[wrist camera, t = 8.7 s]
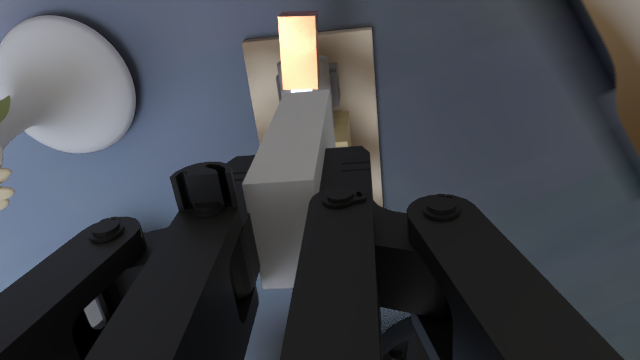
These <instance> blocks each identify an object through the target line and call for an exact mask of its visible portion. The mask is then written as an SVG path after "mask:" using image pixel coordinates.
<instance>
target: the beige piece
mask: <svg viewBox="0 0 640 360" xmlns="http://www.w3.org/2000/svg"><path fill="white" fill-rule="evenodd" d="M318 39H319V66H320V83H319V87H318V89H313V91H316V90H327V89H330V98H331V108H332V117H333V127H334V136H335V146H336V148H337V147H350V146H363V147H364V148H365V149H366V150H368V151H369V152H370V161H371V175H372V188H373V200H374V201H375V202H376V203H377V205H379V206H381V207H382V208H383V200H382V184H381V169H380V153H379V137H378V121H377V105H376V89H375V74H374V58H373V42H372V28H371V27H364V28H354V29H345V30H335V31H325V32H318ZM242 48H243V54H244V60H245V65H246V71H247V77H248V82H249V88H250V93H251V99H252V105H253V110H254V116H255V121H256V127H257V133H258V138H259V144H261V142H262V140H263V138H264V136H265V133H266V131H267V129H268V127H269V125H270V123H271V120H272V118H273V116H274V114H275V112H276V110H277V107H278V105H279V103H280V101H281V99H282V97H283V94H284V93H292V91H291V90H283V83H282V69H281V54H280V40H279V36H277V37H267V38H257V39H247V40H244V41H243V42H242Z"/></svg>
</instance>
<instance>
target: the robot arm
mask: <svg viewBox="0 0 640 360" xmlns="http://www.w3.org/2000/svg"><path fill="white" fill-rule="evenodd" d="M170 180H171V183H172V187H173V191H174V195H175V198H176V202H177V206H178V209H179V212H178V214H177V215H176V217H175V218H174V220H173V221H172V223H171V225H170V226H169V227H168V228H165V229H161V230H156V231H152V232H148V233H143V231H142V228H141V225H140V223H139V222H138V221H137V220H136V219H135V218H130V217H111V218H110V219H109V218H106V219H103V220H101V221H100V222H98V223H95V224H93V225H91V226H89V227H88V228H86V229H84V230H83V231H81V232H80V233H79V234H77V235H76V236H75V237H73V238H72V239H71V240H69V241H68V242H67V243H65V244H64V245H63V246H61V247H60V248H59V249H57V250H56V251H55V252H54V253H52V254H51V255H50V256H48V257H47V258H46V259H44V260H43V261H42V262H40V263H39V264H38V265H36V266H35V267H34V268H32V269H31V270H30V271H29V272H27V273H26V274H25V275H23V276H22V277H21V278H19V279H18V280H17V281H15V282H14V283H13V284H11V285H10V286H9V287H7V288H6V289H5V290H4V291H2V292H1V293H0V360H244V358H245V354H246V350H247V346H248V342H249V338H250V335H251V331H252V327H253V323H254V319H255V316H256V312H257V308H258V304H259V300H258V293H257V288H256V280H257V277H258V273H259V272H260V277H261V282H262V287H263V289H280V288H293V292H292V298H291V303H290V308H289V314H288V319H287V325H286V330H285V335H284V341H283V346H282V351H281V357H280V360H624V359H623V358H622V357H621V356H620V355H619V354H618V353H617V352H616V351H615V350H614V349H613V348H612V347H611V346H610V345H609V343H608V342H607V341H606V340H605V339H604V338H603V337H602V336H601V335H600V334H599V333H598V332H597V331H596V330H595V329H594V328H593V327H592V326H591V325H590V324H589V323H588V322H587V321H586V320H585V319H584V318H583V317H582V316H581V315H580V314H579V312H578V311H577V310H576V309H575V308H574V307H573V306H572V305H571V304H570V303H569V302H568V301H567V300H566V299H565V298H564V297H563V296H562V295H561V294H560V293H559V292H558V291H557V290H556V289H555V288H554V287H553V286H552V285H551V284H550V282H549V281H548V280H547V279H546V278H545V277H544V276H543V275H542V274H541V273H540V272H539V271H538V270H537V269H536V268H535V267H534V266H533V265H532V264H531V263H530V262H529V261H528V260H527V259H526V258H525V257H524V256H523V255H522V254H521V253H520V251H519V250H518V249H517V248H516V247H515V246H514V245H513V244H512V243H511V242H510V241H509V240H508V239H507V238H506V237H505V236H504V235H503V234H502V233H501V232H500V231H499V230H498V229H497V228H496V227H495V226H494V225H493V224H492V223H491V222H490V220H489V219H488V218H487V217H486V216H485V215H484V214H483V213H482V212H481V211H480V210H479V209H478V208H477V207H476V206H475V205H474V204H472V203H471V202H469V201H468V200H466V199H464V198H461V197H457V196H454V195H449V194H447V195H445V194H437V195H429V196H426V197H422V198H419V199H417V200H415V201H414V202H412V203H411V204H410V205H409V207H408V209H407V213H400V212H395V211H390V210H387V209H385V208H382V207H381V206H379V205H377V203H376V202H375V201H374V200H373V188H372V175H371V161H370V152H369V151H368V150H366V149H365V148H364V147H363V146H350V147H337V148H336V146H335V136H334V127H333V117H332V108H331V98H330V89H327V90H316V91H305V92H294V93H284V94H283V97H282V99H281V101H280V103H279V105H278V107H277V110H276V112H275V114H274V116H273V118H272V120H271V123H270V125H269V127H268V129H267V131H266V133H265V136H264V138H263V140H262V142H261V144H260V146H259V149H258V151H257V153H256V155H251V156H238V157H235V158H233V159H232V160H231V161H229V162H228V163H222V162H204V163H197V164H194V165H191V166H187V167H185V168H183V169H181V170H179V171H176V172H175V173H174V174H173V175H172V176H170ZM94 299H95V300H96V303H97V305H98V308H99V310H100V313H101V315H102V318H103V319H102V321H101V322H100V323H99V324H97V325H96V326H94V327H92V326H91V325H90V323H89V321H88V318H87V316H86V313H85V311H84V309H85V308H86V307H87V306H88V305H89V304H90V303H91V302H92V301H93V300H94ZM380 307H384V308H388V309H393V310H398V311H403V312H408V313H411V318H408V319H406V320H404V321H402V322H400V323H398V324H396V325H394V326H393V327H391V328H390V329H389V330H388V331H386V332H385V333H384V334H383V335H382V334H381V312H380Z"/></svg>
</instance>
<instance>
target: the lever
mask: <svg viewBox="0 0 640 360" xmlns="http://www.w3.org/2000/svg"><path fill="white" fill-rule="evenodd" d="M278 26H279V40H280V54H281V69H282V83H283V90H291V91H292V93H294V92H305V91H313V89H318V87H319V83H320V66H319V39H318V11H302V12H282V13H281V14H280V15H279V16H278Z"/></svg>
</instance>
